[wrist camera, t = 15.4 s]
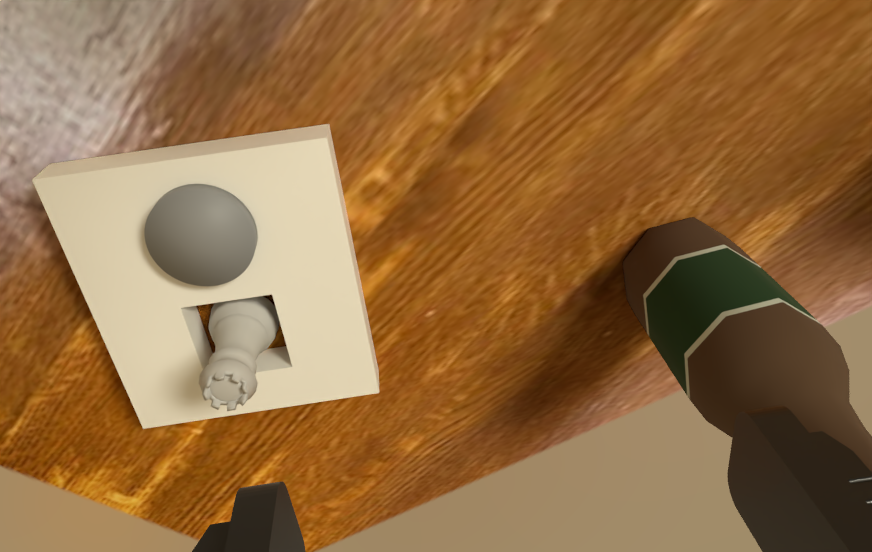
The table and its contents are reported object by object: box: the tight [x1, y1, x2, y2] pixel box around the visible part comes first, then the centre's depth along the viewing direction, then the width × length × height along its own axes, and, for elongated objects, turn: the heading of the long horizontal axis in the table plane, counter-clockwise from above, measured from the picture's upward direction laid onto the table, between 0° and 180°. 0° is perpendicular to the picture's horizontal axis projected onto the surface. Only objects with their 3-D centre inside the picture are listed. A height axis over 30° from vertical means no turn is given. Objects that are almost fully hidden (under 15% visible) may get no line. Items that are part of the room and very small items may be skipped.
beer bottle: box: [623, 217, 872, 472], centre depth 36 cm, size 8×8×24 cm
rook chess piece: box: [199, 296, 280, 411], centre depth 41 cm, size 4×4×8 cm
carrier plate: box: [32, 124, 379, 429], centre depth 42 cm, size 18×16×4 cm
